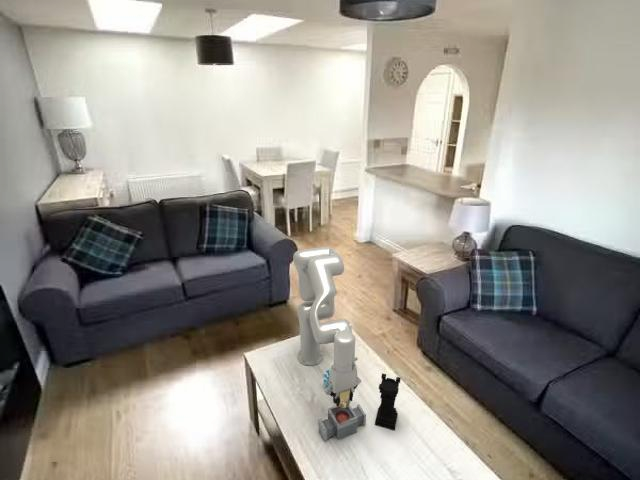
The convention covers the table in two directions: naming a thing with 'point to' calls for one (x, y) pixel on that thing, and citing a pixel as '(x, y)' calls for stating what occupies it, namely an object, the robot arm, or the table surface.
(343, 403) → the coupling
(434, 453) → the table surface
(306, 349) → the robot arm
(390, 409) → the chess piece
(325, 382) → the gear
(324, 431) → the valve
